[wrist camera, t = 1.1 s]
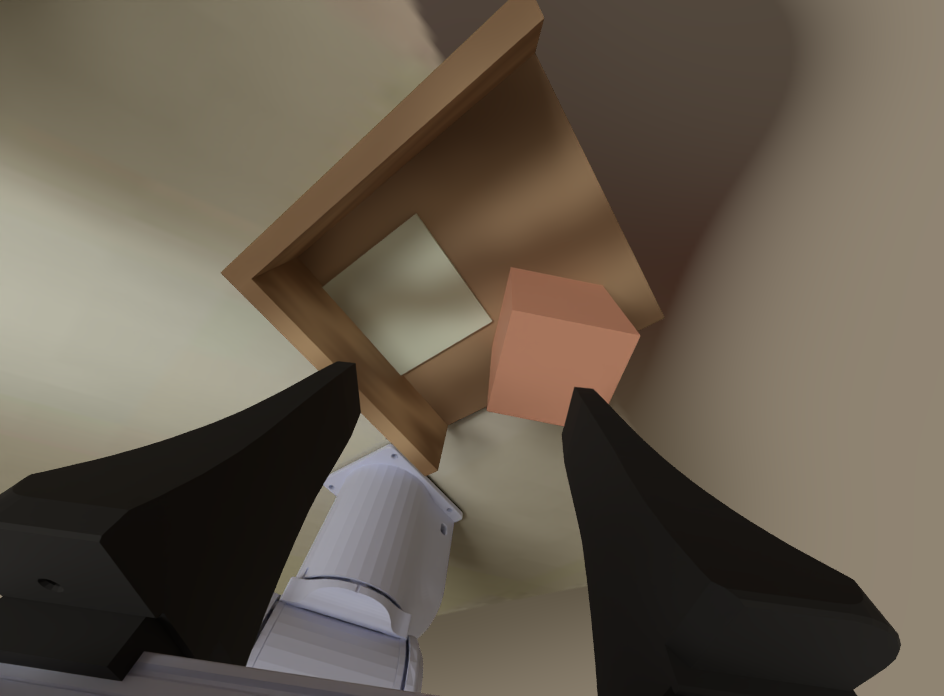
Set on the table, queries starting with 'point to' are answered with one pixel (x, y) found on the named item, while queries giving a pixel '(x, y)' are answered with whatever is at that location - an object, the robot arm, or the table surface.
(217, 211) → the table surface
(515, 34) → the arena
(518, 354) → the cube
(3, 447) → the table surface
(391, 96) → the table surface
